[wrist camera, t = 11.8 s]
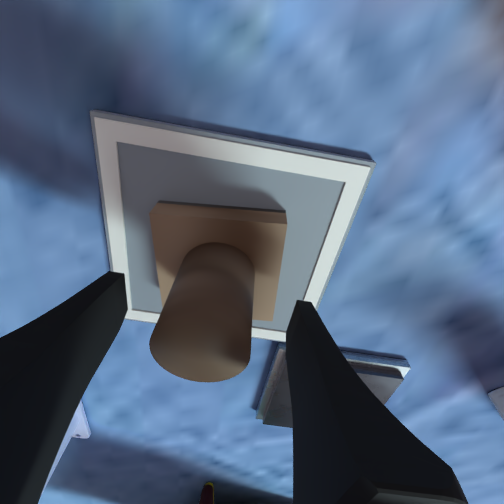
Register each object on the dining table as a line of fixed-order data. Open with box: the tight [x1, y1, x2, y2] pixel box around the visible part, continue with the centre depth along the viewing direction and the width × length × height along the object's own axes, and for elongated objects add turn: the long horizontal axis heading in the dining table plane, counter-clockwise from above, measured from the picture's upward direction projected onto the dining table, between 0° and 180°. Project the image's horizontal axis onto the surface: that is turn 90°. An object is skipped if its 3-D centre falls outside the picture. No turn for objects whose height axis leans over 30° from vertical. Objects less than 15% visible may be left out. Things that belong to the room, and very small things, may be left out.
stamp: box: [149, 200, 287, 382], centre depth 13 cm, size 6×6×6 cm
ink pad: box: [256, 342, 411, 428], centre depth 22 cm, size 9×9×1 cm
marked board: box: [90, 109, 376, 342], centre depth 15 cm, size 12×12×1 cm
